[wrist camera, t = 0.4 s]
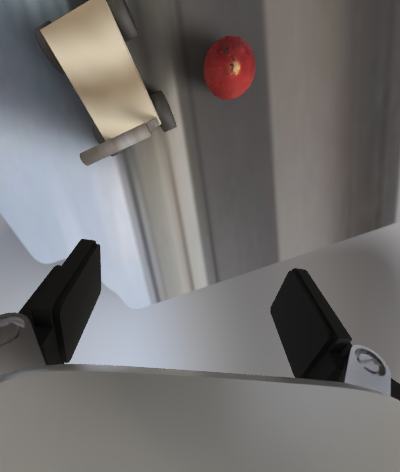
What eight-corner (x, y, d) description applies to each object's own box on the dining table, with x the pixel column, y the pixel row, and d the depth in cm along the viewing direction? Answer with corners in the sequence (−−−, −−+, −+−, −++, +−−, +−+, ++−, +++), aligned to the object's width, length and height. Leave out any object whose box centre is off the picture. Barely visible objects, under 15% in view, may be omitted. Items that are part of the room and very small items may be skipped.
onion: (195, 55, 29) (196, 44, 22) (240, 33, 28) (256, 14, 21) (211, 105, 32) (217, 109, 25) (252, 87, 31) (270, 85, 24)
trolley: (48, 33, 27) (-56, -10, 16) (120, -10, 26) (63, -94, 14) (117, 152, 34) (80, 183, 23) (177, 124, 33) (170, 142, 21)
